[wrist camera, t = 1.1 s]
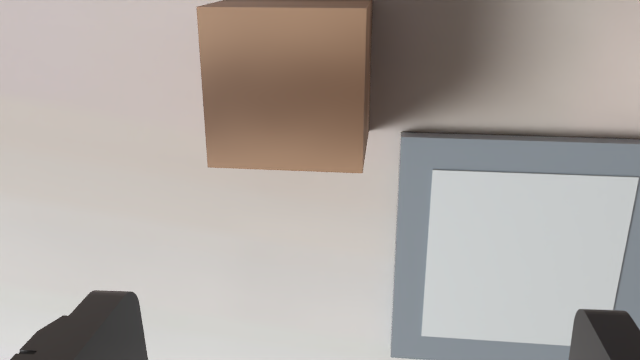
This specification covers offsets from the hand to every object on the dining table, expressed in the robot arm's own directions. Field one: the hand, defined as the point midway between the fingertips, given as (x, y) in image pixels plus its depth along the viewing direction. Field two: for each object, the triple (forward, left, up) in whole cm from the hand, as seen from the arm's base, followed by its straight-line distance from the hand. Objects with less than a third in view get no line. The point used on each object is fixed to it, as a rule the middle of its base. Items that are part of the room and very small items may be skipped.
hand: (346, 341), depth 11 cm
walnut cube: (-2, -3, -18) cm, 18 cm away
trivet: (+7, +7, -18) cm, 21 cm away
